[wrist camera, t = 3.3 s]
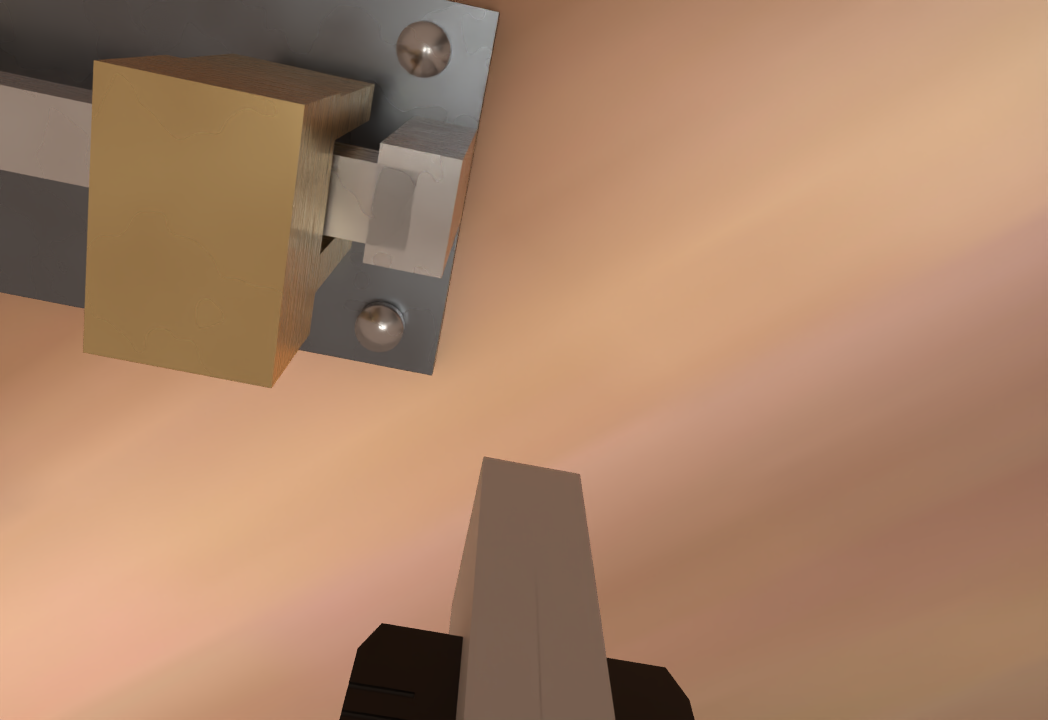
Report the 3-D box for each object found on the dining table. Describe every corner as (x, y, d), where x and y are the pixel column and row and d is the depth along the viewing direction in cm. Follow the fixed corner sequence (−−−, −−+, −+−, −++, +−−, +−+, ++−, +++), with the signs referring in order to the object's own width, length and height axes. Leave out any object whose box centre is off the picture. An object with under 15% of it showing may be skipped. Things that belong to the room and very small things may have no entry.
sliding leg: (253, 48, 27) (94, 60, 17) (385, 77, 27) (305, 104, 17) (231, 279, 29) (81, 407, 19) (352, 303, 29) (265, 441, 20)
